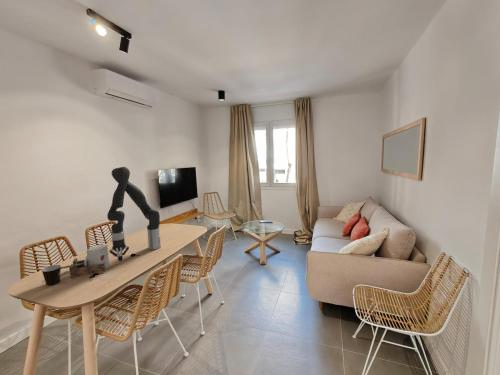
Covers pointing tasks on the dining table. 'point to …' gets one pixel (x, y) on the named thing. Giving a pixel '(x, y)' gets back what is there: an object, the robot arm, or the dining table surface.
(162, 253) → the dining table surface
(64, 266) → the pusher plate
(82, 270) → the brown wooden box
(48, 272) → the coffee mug
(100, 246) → the supplement box
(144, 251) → the dining table surface
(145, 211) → the robot arm
